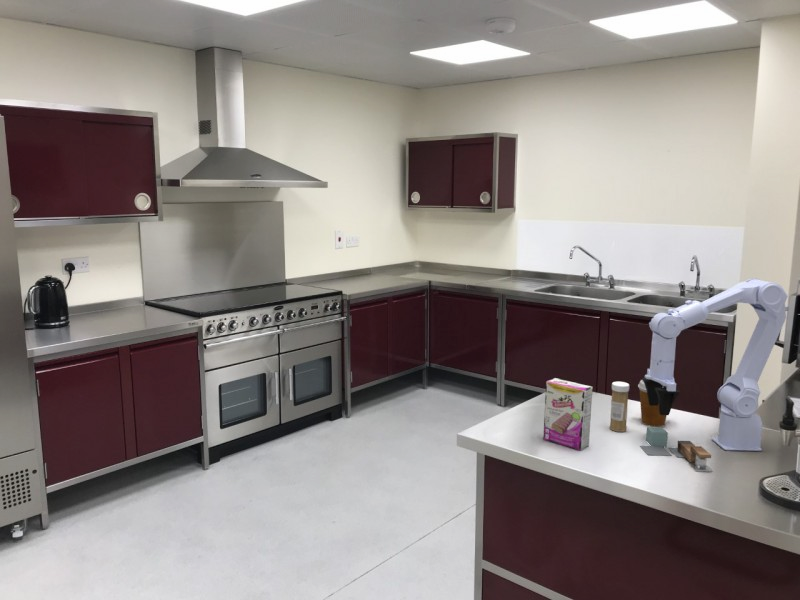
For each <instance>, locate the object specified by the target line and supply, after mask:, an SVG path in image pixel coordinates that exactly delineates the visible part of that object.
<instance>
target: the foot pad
mask: <svg viewBox="0 0 800 600" xmlns="http://www.w3.org/2000/svg"><path fill="white" fill-rule="evenodd" d="M668 450H669V451H670V452H671V453H672V454H673V455H674V456H675V457H677V458H680V459H684V458H685V457H684V456H683V455H682V454H681V453H680V452H679V451H678V450H677V447H668ZM685 459H686V458H685Z"/></svg>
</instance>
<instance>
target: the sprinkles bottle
mask: <svg viewBox="0 0 800 600" xmlns="http://www.w3.org/2000/svg"><path fill="white" fill-rule="evenodd" d="M629 391H630V384H629V383H627V382H625V381H613V382H612V383H611V392H612V393H611V403H610V417H609V418H610V421H609V422H610V423H609V424H610V425H609V429H610V430H611V431H613V432H617V433H623V432H626V431H627V419H628V400H629Z"/></svg>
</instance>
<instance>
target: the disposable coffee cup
mask: <svg viewBox="0 0 800 600" xmlns="http://www.w3.org/2000/svg"><path fill="white" fill-rule="evenodd" d="M637 387H638V389H639V399H640V417H641V423H642V424H644V425H646V426H649V425H650V426H649V427H656V426H657V427H663V426H665V425H666V421H667V416H668V415H660V413H659V403H658V406H651V405H649V402H648V396H647V390H646V387H645V384H644V382H643V379H640V381H639V383H638V384H637Z"/></svg>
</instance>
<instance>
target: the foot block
mask: <svg viewBox="0 0 800 600" xmlns="http://www.w3.org/2000/svg"><path fill="white" fill-rule="evenodd" d="M645 432H646V433H645V435H646V436H645V441H647V442H648V443H649V444H650V445H651V446H663V447H664V448H667V447H668V437H669V436H668V434H669V432H668V431H667V430H665V429H664V428H663V426H660V427H656V426H646V431H645ZM647 442H646V443H647ZM648 443H647V444H648ZM649 444H648V445H649ZM650 445H649V446H650Z"/></svg>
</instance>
